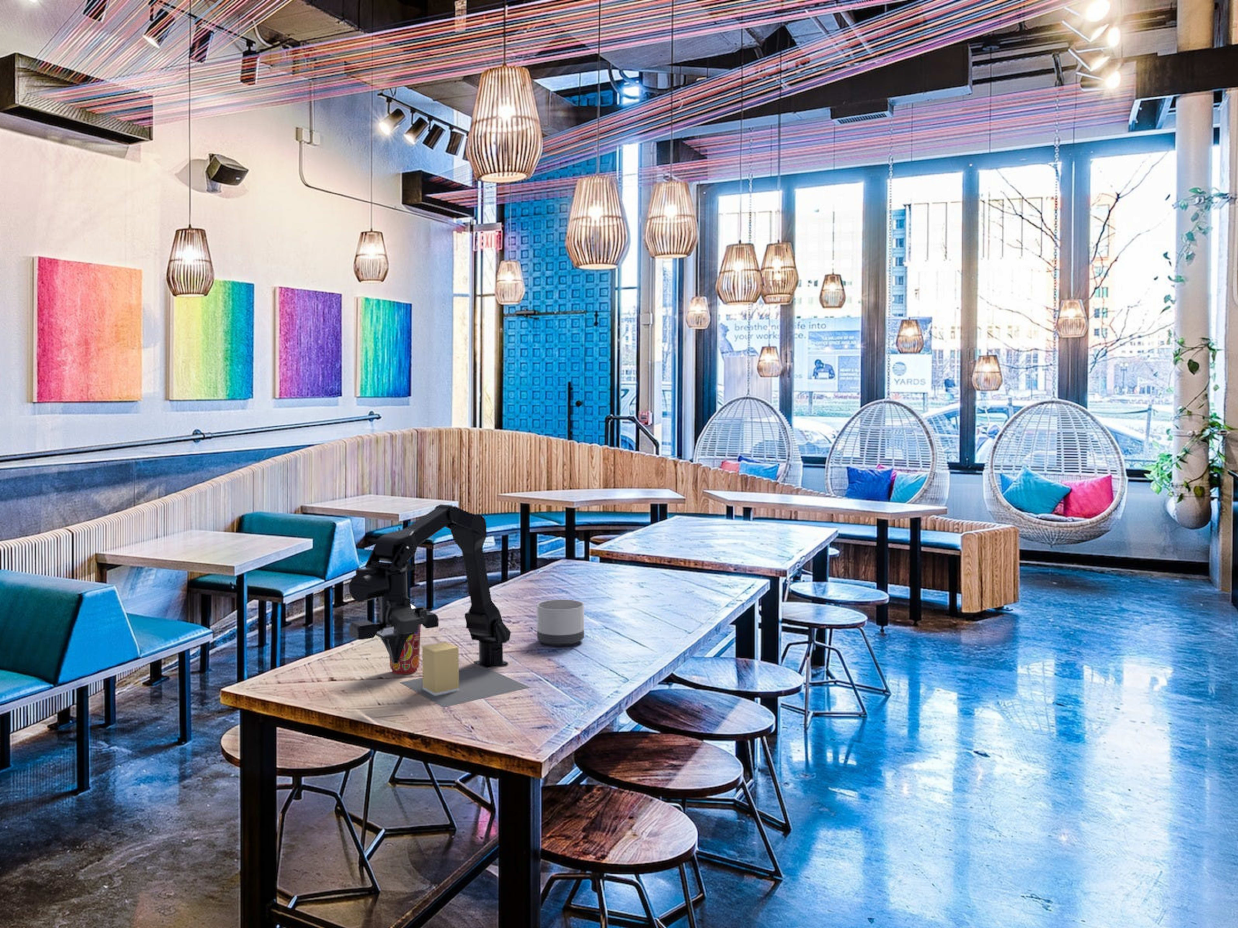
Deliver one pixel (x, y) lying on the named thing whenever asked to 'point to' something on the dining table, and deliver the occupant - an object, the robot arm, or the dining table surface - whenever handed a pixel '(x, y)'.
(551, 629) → the planter
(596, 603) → the dining table surface
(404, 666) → the smoothie
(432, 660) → the pale yellow block
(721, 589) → the dining table surface
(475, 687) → the charcoal mat
